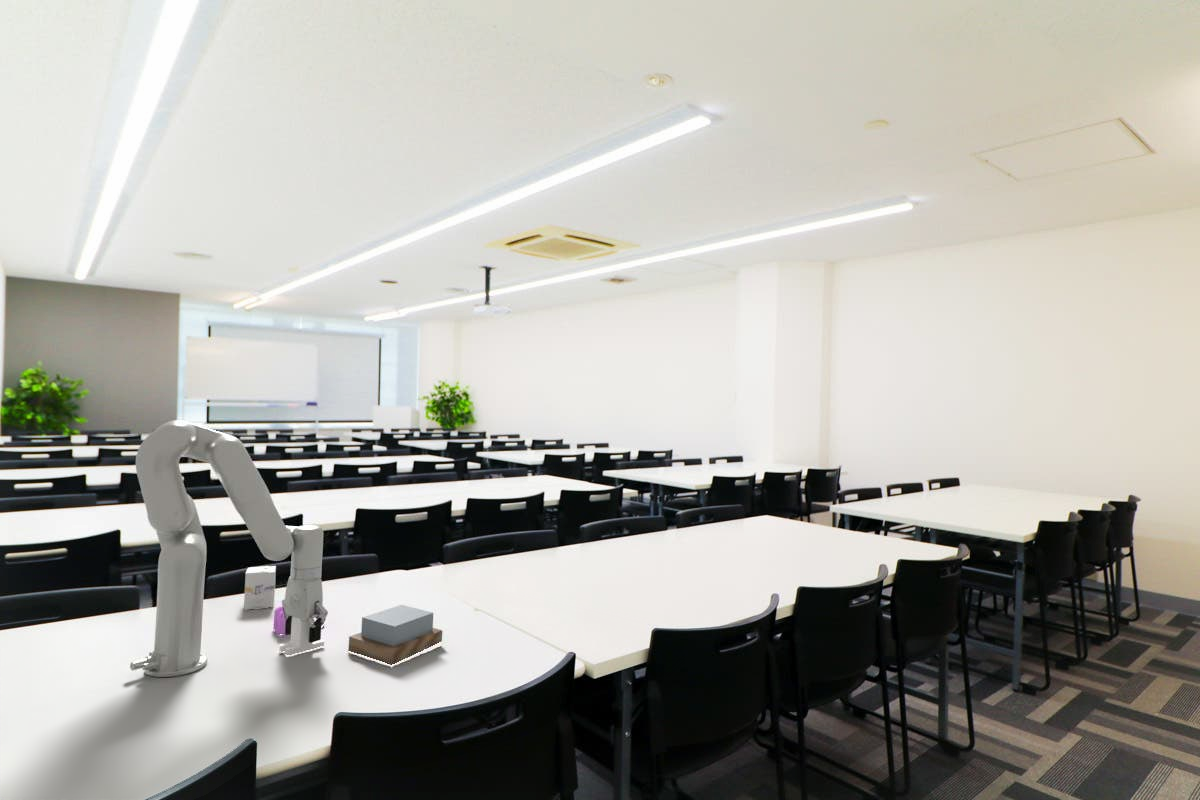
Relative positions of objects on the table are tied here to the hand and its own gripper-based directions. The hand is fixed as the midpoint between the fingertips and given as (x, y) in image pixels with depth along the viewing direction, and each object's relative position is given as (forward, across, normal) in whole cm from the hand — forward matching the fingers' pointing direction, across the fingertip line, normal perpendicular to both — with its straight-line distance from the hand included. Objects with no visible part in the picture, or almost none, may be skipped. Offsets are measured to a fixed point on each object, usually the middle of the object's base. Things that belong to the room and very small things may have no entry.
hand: (302, 637), depth 169 cm
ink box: (+4, -43, +16) cm, 46 cm away
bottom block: (+4, +20, +14) cm, 25 cm away
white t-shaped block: (+4, 0, 0) cm, 4 cm away
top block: (-1, +20, +14) cm, 25 cm away
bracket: (+4, -14, +10) cm, 18 cm away
